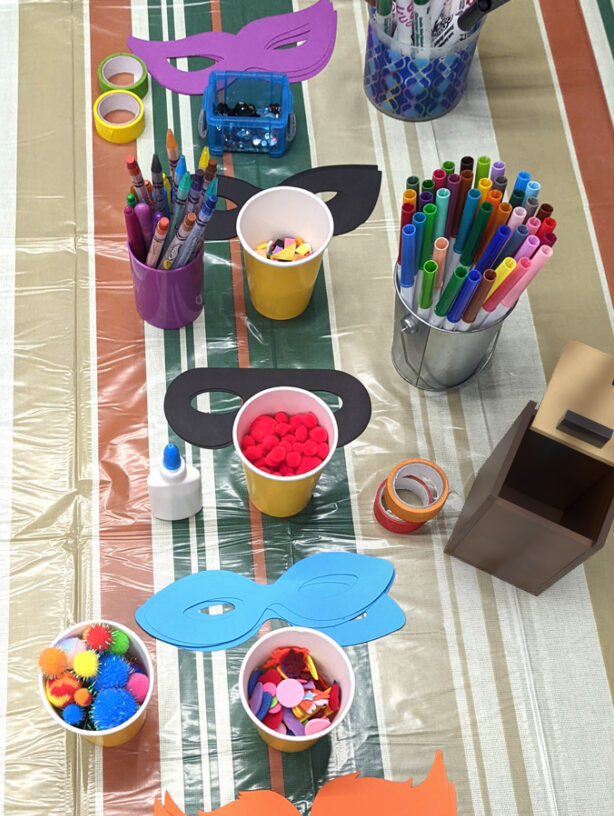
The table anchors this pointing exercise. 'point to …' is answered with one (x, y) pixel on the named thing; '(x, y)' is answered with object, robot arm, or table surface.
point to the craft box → (534, 509)
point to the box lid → (580, 402)
